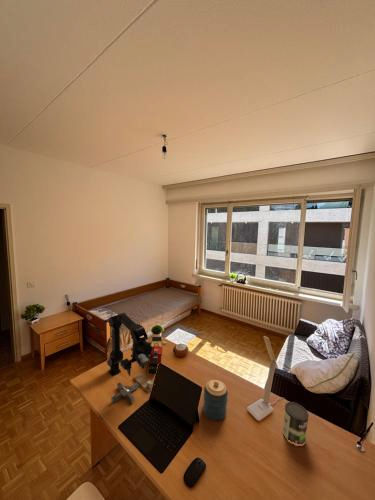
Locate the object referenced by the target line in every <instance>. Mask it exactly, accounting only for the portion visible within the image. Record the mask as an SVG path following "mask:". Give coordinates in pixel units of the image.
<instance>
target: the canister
mask: <svg viewBox="0 0 375 500" xmlns="http://www.w3.org/2000/svg"><path fill="white" fill-rule="evenodd" d="M228 394H229V392H228V389H227V386H226V384H225V383H224V382H223V381H221V380H218V379H211V380H208V381H207V382H206V383H205V386H204V388H203V402H202V403H203V404H202V410H203V414H204V415H205V416H206V417H207V418H208V419H209V420H211V421H213V422H214V421H215V422H217V421H222V420H223V419H225V417H226V415H227V410H228V409H227V404H228Z"/></svg>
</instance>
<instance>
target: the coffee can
mask: <svg viewBox="0 0 375 500" xmlns="http://www.w3.org/2000/svg"><path fill="white" fill-rule="evenodd" d="M283 415H284V416H283V426H282V431H283V432H282V434H283V433H284V435H285V437H286V438H287V439H288V440H290V441H291V442H294V443H297V444H303V443H304V442H305V443H306V439H307V431H308V423H309V422H308V421H309V417H310V416H309V412H308V411H307V409H306V408H305V407H304V406H303V405H301V404H300V403H298V402H295V401H288V402H286V403H285V405H284V414H283Z"/></svg>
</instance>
